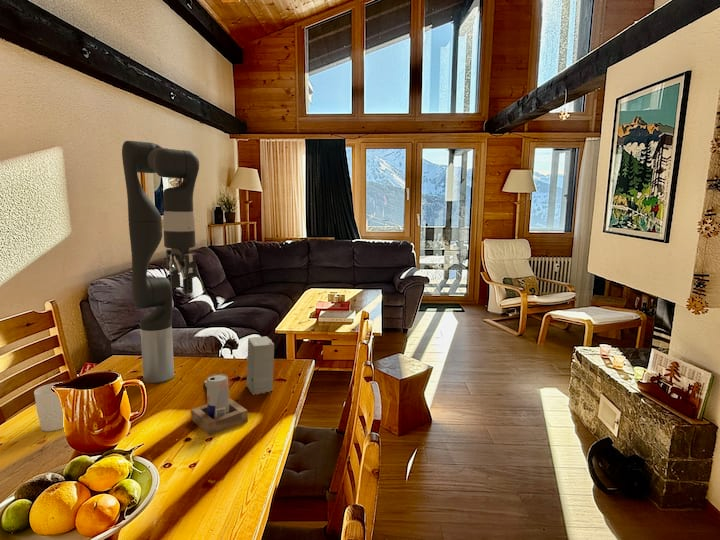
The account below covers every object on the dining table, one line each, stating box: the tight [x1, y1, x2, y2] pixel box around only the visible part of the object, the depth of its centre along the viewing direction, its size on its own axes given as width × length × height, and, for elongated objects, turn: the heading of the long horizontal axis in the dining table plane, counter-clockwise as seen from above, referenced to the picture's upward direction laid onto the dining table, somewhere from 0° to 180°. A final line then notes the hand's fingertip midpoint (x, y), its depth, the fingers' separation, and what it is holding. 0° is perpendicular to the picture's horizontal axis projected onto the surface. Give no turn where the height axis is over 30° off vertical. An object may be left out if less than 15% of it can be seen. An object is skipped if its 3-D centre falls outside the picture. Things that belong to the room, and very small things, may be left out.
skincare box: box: [246, 335, 275, 396], centre depth 131 cm, size 8×7×16 cm
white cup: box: [33, 381, 64, 432], centre depth 108 cm, size 8×8×10 cm
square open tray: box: [190, 397, 249, 436], centre depth 112 cm, size 11×11×3 cm
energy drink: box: [206, 373, 230, 419], centre depth 111 cm, size 5×5×12 cm
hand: (181, 290), depth 112 cm, fingers open, 8 cm apart
